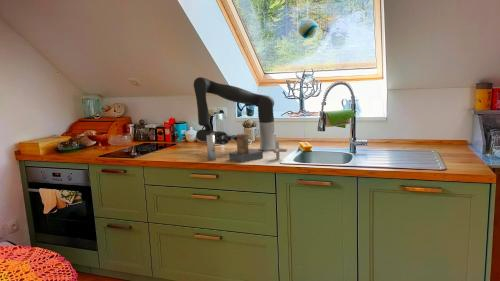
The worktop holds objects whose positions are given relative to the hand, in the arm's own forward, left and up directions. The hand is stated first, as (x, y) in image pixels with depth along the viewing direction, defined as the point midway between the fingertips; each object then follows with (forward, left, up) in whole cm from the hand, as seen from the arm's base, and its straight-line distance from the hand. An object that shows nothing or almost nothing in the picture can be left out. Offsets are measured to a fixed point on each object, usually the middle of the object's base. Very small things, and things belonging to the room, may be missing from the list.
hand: (233, 140), depth 217 cm
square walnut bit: (0, +8, -10) cm, 13 cm away
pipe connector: (-14, +21, -10) cm, 27 cm away
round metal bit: (+13, -4, -10) cm, 17 cm away
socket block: (-2, +8, -10) cm, 13 cm away
